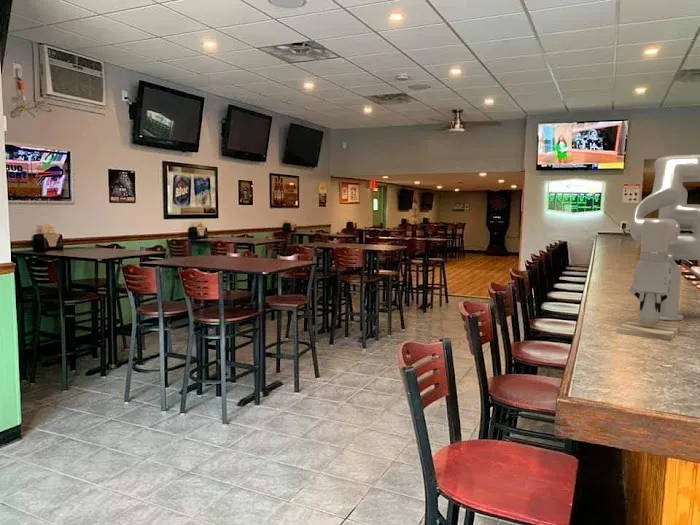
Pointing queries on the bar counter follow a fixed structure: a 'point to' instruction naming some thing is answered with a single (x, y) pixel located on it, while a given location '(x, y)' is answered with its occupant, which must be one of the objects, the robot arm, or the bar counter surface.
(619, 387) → the bar counter surface
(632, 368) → the bar counter surface
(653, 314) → the salt shaker
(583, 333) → the bar counter surface
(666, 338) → the serving board
